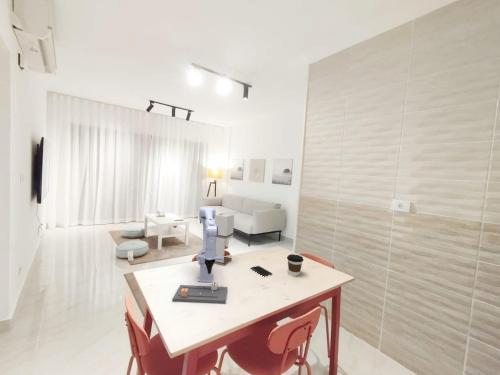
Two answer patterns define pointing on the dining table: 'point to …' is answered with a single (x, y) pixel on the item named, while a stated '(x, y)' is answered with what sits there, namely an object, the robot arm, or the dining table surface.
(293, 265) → the coffee cup
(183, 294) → the fader terracotta
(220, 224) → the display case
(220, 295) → the console
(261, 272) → the phone
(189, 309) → the dining table surface
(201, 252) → the robot arm
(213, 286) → the fader white
